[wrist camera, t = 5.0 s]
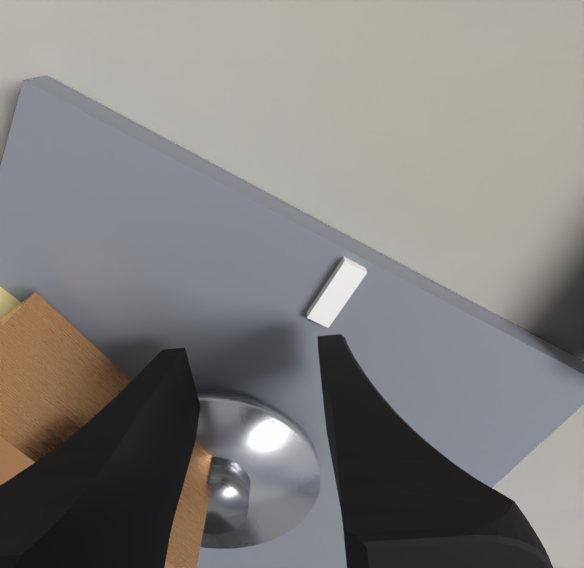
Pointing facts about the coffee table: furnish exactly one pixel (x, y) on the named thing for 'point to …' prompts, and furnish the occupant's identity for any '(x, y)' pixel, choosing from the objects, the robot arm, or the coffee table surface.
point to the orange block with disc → (207, 449)
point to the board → (256, 301)
